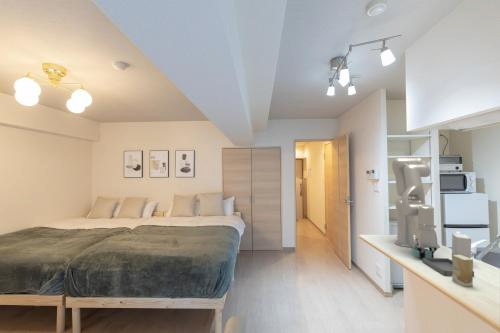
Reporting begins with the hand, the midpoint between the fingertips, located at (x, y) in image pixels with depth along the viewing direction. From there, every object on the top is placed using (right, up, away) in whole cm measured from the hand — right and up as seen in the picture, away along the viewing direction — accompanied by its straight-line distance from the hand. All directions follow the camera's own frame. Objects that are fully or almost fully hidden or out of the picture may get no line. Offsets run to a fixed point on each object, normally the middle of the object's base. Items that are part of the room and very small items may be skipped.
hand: (426, 258), depth 143 cm
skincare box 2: (-5, -1, -29) cm, 30 cm away
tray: (+1, 0, -13) cm, 13 cm away
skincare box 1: (+15, -1, -6) cm, 16 cm away
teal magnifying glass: (0, 0, +4) cm, 4 cm away
